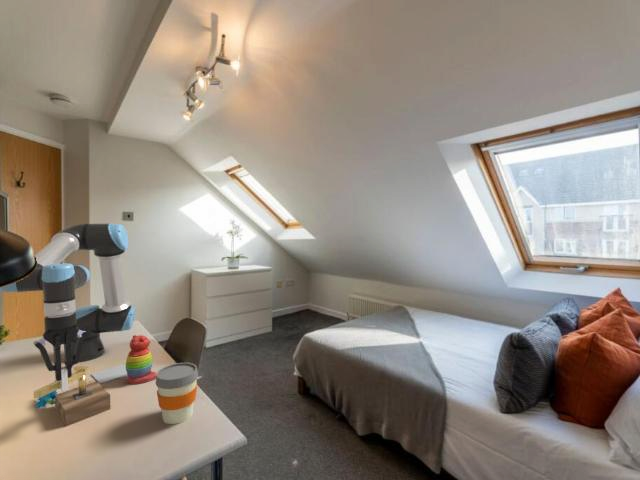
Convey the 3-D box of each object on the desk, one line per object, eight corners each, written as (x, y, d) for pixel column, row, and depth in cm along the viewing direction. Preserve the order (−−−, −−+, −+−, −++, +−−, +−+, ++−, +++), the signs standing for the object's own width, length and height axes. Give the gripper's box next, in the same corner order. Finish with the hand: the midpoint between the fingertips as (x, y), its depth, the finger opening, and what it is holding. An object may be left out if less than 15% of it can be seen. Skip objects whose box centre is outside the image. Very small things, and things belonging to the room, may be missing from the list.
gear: (35, 395, 111) (60, 372, 114) (51, 402, 114) (75, 379, 117) (31, 414, 102) (58, 388, 105) (48, 421, 105) (74, 395, 108)
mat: (91, 374, 130) (91, 374, 130) (123, 365, 139) (123, 364, 139) (100, 384, 122) (100, 383, 122) (133, 373, 131) (133, 372, 131)
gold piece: (79, 390, 107) (78, 365, 106) (91, 392, 106) (90, 366, 105) (30, 416, 92) (29, 387, 92) (43, 419, 91) (41, 389, 91)
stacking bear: (160, 377, 128) (159, 334, 127) (134, 387, 120) (133, 342, 119) (146, 370, 134) (145, 329, 133) (120, 380, 126) (119, 336, 125)
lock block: (55, 409, 105) (54, 394, 105) (97, 394, 115) (97, 380, 114) (65, 426, 96) (65, 409, 96) (110, 409, 106) (110, 393, 105)
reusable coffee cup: (205, 414, 103) (204, 370, 102) (166, 433, 93) (165, 384, 93) (188, 400, 111) (187, 359, 110) (150, 416, 102) (149, 371, 101)
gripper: (34, 321, 88) (39, 402, 90) (89, 311, 98) (92, 384, 100) (29, 317, 93) (34, 393, 94) (82, 307, 103) (85, 377, 104)
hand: (64, 389), depth 97 cm, fingers closed
